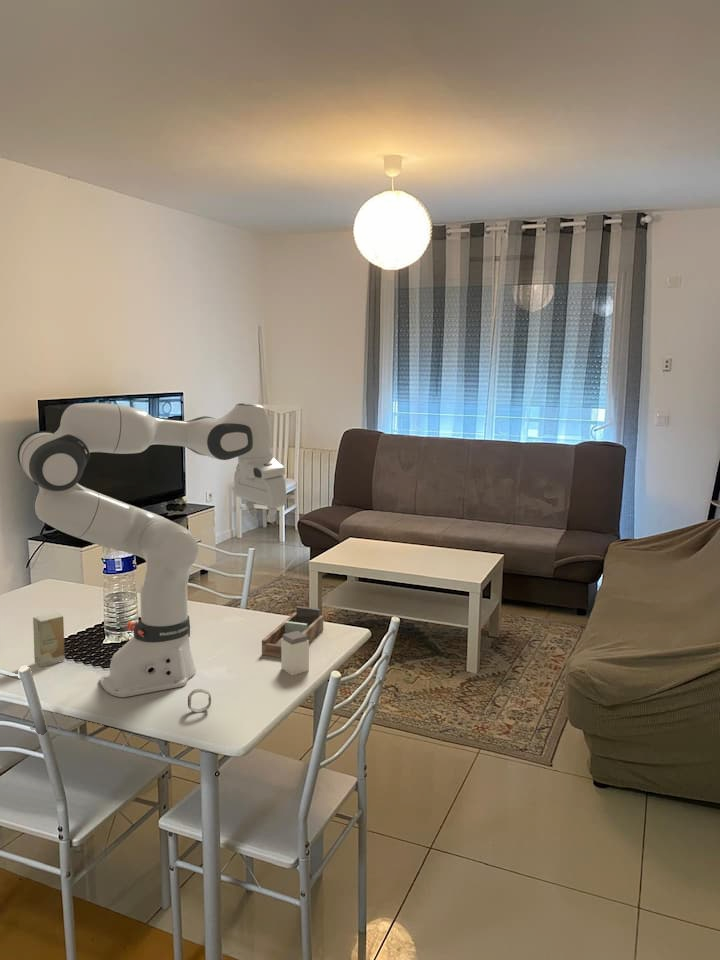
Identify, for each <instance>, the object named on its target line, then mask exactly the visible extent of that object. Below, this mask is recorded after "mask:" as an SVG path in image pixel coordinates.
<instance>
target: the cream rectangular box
mask: <svg viewBox="0 0 720 960" xmlns="http://www.w3.org/2000/svg"><path fill="white" fill-rule="evenodd" d="M280 659H281V660H280V661H281V664H280V665H281V667H280V668H281V670H282V671H284V670H285V671H284V672H286V673H287V672H288V673H287V674H289V675H290V674H291V675H290V676H292V675H293V676H296V675H299V674H303V673H305V672H309V671H310V643H309V640H307V635H305V634H303V633H301V632H299V631H294V632H290V633H286V634H283V639H281V657H280ZM302 672H303V673H302ZM298 673H299V674H298Z"/></svg>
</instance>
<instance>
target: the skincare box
mask: <svg viewBox="0 0 720 960" xmlns="http://www.w3.org/2000/svg"><path fill="white" fill-rule="evenodd" d="M32 625H33V626H32V627H33V651H34V652H33V654H34V656H33V657H34V664H36V665H37V666H38V667H40V668H45V667H47V665H48V666H51V664H52V665H55V664H58V663H57V662H59V663H61V662H60V661H63V660H65V661H66V659H65V658H66V657H65V630H64V627H65V625H64V615H62V614H61V613H58V612H56V611H55V612H52V613H47V614H42V615H38V616H33V617H32ZM63 662H64V661H63ZM54 663H55V664H54ZM44 666H45V667H44Z"/></svg>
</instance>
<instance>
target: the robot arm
mask: <svg viewBox="0 0 720 960" xmlns="http://www.w3.org/2000/svg"><path fill="white" fill-rule="evenodd" d="M60 418H61V419H60V424H59V427H58V429H57V430H56V431H55V432H52V431H49V430H39V431H35V432H32V433H29V434H28V435H26V436H25V437H24V438H23V439H22V440H21V442H20V443H19V446H18V448H17V461H18V463H19V466H20V467H21V469H22V470H23V472H24V473H25V475H26V476H27V477H28V478H29V479H30V480H31V481H32V482H33V484H34V485H36V486H38V493H37V496H36V499H35V501H34V510H35V515H36V516H37V518H38V519H39V520H40V521H41V522H43V523H45V524H46V525H48V526H50V527H51V528H54V529H56V530H58V531H59V532H61V533H64V534H67V535H69V536H71V537H74V538H77V539H81V540H83V541H87V542H89V543H91V544H95V545H98V546H100V547H102V548H103V547H104V548H107V549H109V550H116V551H119V552H124V553H127V554H131V555H134V556H137V557H139V558H142V559H143V560H145V564H146V571H145V577H144V581H143V584H142V585H141V586H140V590H139V596H140V619H139V622H137V623H135V622H134V621H133V620H131V621H127V623H126V628H127V629H128V630H129V631H131V632H133V636H132V637H131V638H130V639H129V640H128V641H127V642H126V643H125V644H124V645H123V646H122V647H121V648H119V649H118V650H117V651H116V652H114V654H113V655H112V656H111V660H110V665H109V671H106V672H104V673H102V674H101V676H100V686H101V687H102V688H103V690H105V692H107V693H109V694H110V695H111V696H113V697H114V696H115V697H117V698H127V697H131V696H133V697H134V696H138V695H144V694H147V693H148V694H149V693H153V692H159V691H164V690H170V689H174V688H180V687H184V686H185V685H186V684H187V682H188V681H189V680H190V678H192V677H193V676H194V675H195V674H196V671H197V669H196V666H195V663H194V659H193V657H192V656H193V655H192V650H191V646H190V645H191V643H190V637H191V622H190V621H191V620H190V616H189V614H188V583H189V579H190V573H191V569H192V566H193V564H194V563H195V562H196V560H197V558H198V555H199V545H198V542H197V540H196V538H195V537H194V534H192V533H191V532H190V531H189V529H188V528H186V527H185V526H183V525H181V524H179V523H176V522H175V521H172V520H170V519H168V518H165V517H164V516H162V515H159V514H158V513H154V512H152V511H148V510H146V509H143V508H140V507H139V506H138V507H137V506H135V505H132V504H130V503H126V502H124V501H121V500H118V499H116V498H113V497H111V496H108V495H105V494H103V493H100V492H97V491H96V490H93V489H91V488H87V487H86V486H83V485H81V484H79V483H78V482H79V481H80V480H81V478H82V476H83V474H84V472H85V468H86V466H87V463H88V461H89V460H90V456H91V453H107V454H117V455H118V454H120V455H122V454H123V455H126V454H127V455H128V454H131V455H132V454H139V453H142V452H144V451H146V450H147V449H148V448H149V447H150V446H152V445H154V446H155V445H162V446H163V445H164V446H174V447H175V446H176V447H183V448H187V449H188V450H189V451H192V452H193V453H195V454H197V455H200V456H205V457H209V458H211V459H216V460H219V461H228V460H231V459H234V458H237V460H238V461H237V462H238V464H237V465H236V466H235V469H236V470H235V471H234V476H233V477H234V478H233V479H234V481H233V484H234V494H235V495H236V497H237V498H240V499H243V503H244V505H245V507H246V509H247V516H249V517H255V516H257V508H255V505H254V503H257V504H259V505H263V506H266V508H267V510H268V512H267V513H268V514H266V522H268V523H274V522H276V520H277V518H276V514H277V512H278V508H280V507H284V506H286V503H287V487H286V480H285V478H284V475H285V474H286V470H285V466H283V464H281V463H279V462H278V460H277V459H276V458H274V452H273V449H272V447H271V439H272V431H271V423H270V418H269V414H268V411H267V409H266V408H265V406H264V405H261V404H257V403H247V402H244V403H243V402H241V403H236V404H235V406H234V408H232V409H231V410H230V411H229V412H227V413H226V414H224V416H222V417H220V418H214V417H213V416H212V417H211V416H205V415H204V416H200V417H195V418H193V419H190V420H177V419H176V420H174V419H165V418H157V417H155V416H152V415H150V414H149V413H148V412H147V411H145V410H143V409H141V408H136V407H133V406H129V405H124V404H117V403H116V404H115V403H106V402H83V403H74V404H71V405H69V406H68V407H66V409H65V410H64V411H63V413H62V415H61V417H60Z"/></svg>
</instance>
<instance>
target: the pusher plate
mask: <svg viewBox="0 0 720 960" xmlns="http://www.w3.org/2000/svg"><path fill="white" fill-rule="evenodd" d="M306 628H307V624H305V623H297V622H289V621H286V622H285V634H286V633H290V632H294V631H299V632H301V633H302V632H303V631H304V630H305V629H306Z"/></svg>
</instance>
